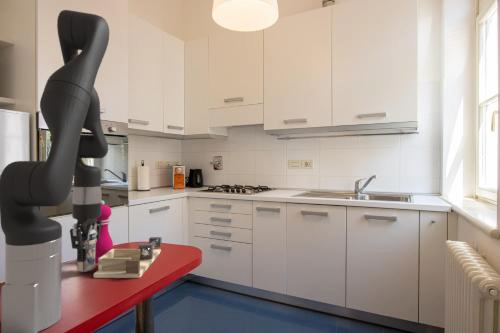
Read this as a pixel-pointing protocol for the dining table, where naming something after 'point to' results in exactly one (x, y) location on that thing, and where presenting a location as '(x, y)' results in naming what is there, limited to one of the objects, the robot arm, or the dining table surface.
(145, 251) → the silver and grey bar
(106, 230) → the pink pepper grinder
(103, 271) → the birch holder
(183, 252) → the dining table surface
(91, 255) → the beer can
